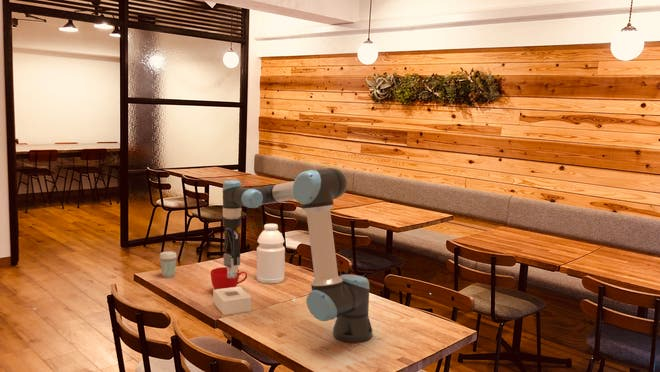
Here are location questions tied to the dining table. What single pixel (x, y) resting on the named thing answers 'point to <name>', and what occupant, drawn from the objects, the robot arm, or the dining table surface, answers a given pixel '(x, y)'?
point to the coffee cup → (168, 263)
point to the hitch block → (232, 300)
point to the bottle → (270, 255)
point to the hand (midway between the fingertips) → (231, 269)
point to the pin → (229, 264)
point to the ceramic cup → (224, 278)
